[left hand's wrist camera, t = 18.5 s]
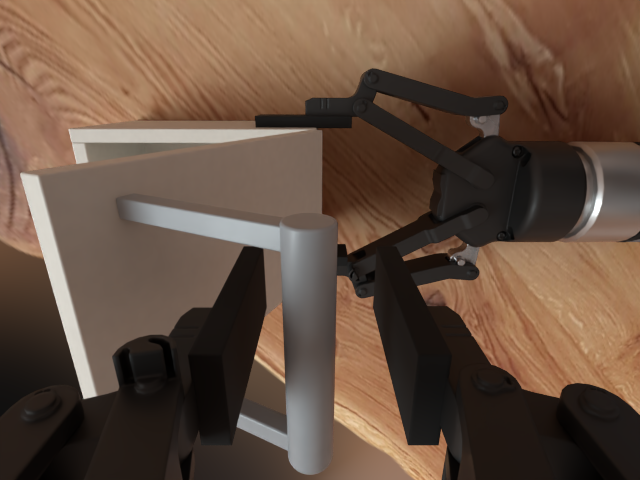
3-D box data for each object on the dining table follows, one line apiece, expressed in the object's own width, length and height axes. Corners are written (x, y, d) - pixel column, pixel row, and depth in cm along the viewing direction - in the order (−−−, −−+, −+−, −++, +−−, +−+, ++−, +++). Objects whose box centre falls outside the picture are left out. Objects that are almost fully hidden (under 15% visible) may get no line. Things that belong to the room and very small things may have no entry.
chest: (152, 224, 36) (98, 264, 27) (135, 120, 33) (67, 128, 24) (317, 224, 36) (316, 264, 27) (317, 120, 33) (316, 129, 24)
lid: (94, 438, 13) (293, 559, 10) (18, 172, 10) (280, 213, 7) (310, 266, 27) (426, 291, 24) (310, 129, 24) (445, 135, 20)
